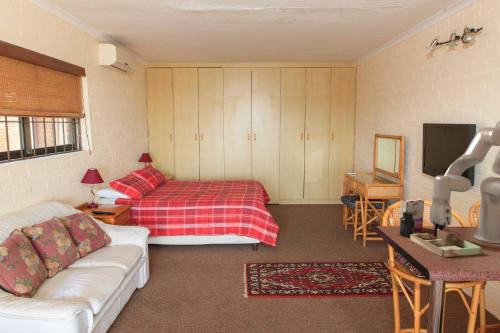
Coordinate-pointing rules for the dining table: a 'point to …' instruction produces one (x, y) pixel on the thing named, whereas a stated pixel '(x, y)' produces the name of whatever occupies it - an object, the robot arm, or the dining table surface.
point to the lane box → (433, 244)
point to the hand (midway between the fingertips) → (437, 236)
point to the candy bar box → (414, 211)
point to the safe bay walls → (466, 248)
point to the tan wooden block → (447, 237)
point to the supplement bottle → (407, 224)
